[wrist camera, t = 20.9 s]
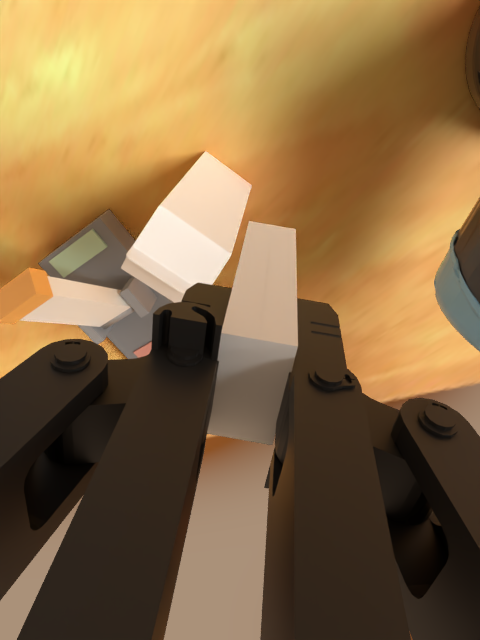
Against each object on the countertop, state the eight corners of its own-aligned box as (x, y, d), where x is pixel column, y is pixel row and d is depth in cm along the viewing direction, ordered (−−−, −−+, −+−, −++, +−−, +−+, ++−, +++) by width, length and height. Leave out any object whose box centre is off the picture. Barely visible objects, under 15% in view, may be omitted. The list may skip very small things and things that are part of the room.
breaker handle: (145, 309, 51) (36, 293, 38) (110, 331, 53) (-5, 323, 40) (137, 289, 52) (28, 267, 39) (103, 311, 54) (-12, 297, 41)
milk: (221, 228, 50) (179, 336, 32) (175, 195, 49) (103, 290, 30) (253, 183, 48) (227, 275, 29) (205, 148, 46) (145, 220, 27)
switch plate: (204, 325, 57) (195, 355, 52) (146, 358, 61) (131, 389, 55) (109, 208, 51) (86, 229, 45) (50, 253, 54) (22, 277, 49)
